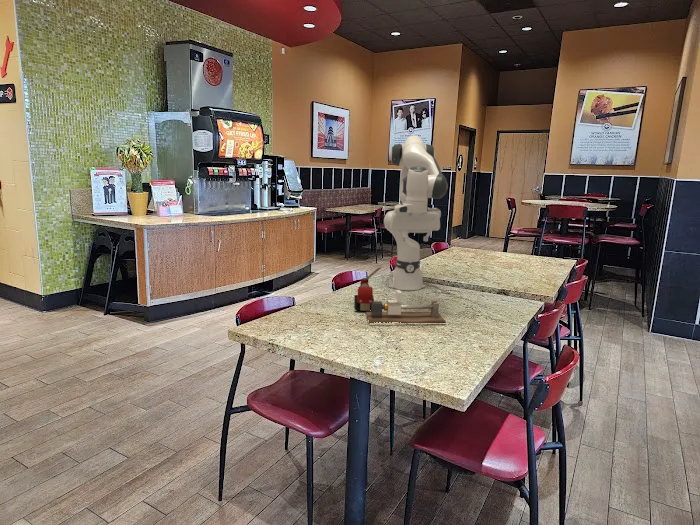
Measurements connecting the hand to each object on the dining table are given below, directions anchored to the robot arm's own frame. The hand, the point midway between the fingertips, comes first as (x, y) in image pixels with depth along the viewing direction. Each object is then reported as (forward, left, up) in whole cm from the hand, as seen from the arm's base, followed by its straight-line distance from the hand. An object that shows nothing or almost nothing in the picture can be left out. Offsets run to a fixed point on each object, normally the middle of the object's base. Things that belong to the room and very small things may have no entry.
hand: (414, 241), depth 190 cm
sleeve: (+12, -10, -27) cm, 31 cm away
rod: (+12, -5, -29) cm, 31 cm away
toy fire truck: (-5, -18, -31) cm, 36 cm away
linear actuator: (+12, -5, -30) cm, 33 cm away
